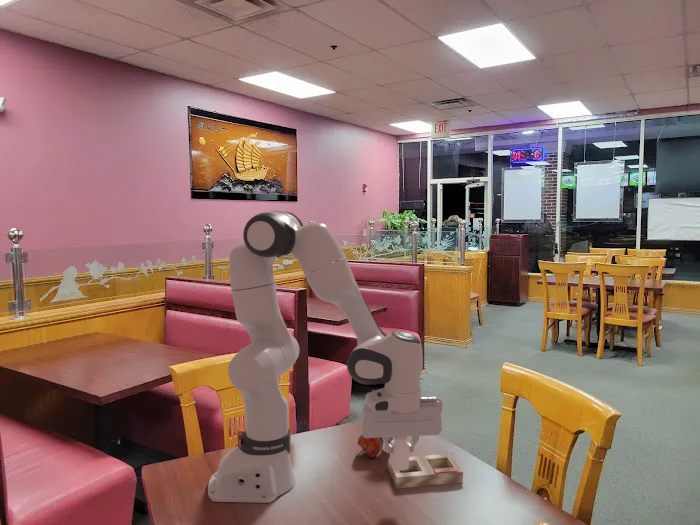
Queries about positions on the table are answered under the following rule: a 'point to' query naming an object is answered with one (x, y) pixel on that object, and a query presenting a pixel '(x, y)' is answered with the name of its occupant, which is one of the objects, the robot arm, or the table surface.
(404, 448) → the pepper shaker
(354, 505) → the table surface
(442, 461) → the slot rack
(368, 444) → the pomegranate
